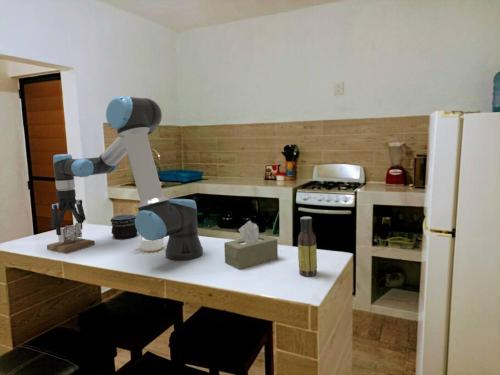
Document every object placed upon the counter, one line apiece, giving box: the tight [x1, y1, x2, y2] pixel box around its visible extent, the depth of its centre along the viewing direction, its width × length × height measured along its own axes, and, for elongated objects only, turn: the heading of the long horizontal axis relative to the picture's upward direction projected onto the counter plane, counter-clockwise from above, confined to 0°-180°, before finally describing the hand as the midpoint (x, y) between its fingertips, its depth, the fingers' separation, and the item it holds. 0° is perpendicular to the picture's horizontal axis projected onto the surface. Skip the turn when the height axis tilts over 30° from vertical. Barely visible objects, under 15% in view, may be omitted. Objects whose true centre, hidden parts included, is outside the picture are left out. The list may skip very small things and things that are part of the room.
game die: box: [63, 223, 83, 243], centre depth 168 cm, size 9×8×10 cm
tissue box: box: [223, 220, 279, 270], centre depth 143 cm, size 19×10×16 cm, turn 125°
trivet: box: [46, 237, 96, 254], centre depth 169 cm, size 14×14×2 cm
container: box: [110, 213, 138, 240], centre depth 185 cm, size 13×13×10 cm
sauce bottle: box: [297, 215, 318, 278], centre depth 128 cm, size 6×6×20 cm
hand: (70, 239), depth 168 cm, fingers open, 8 cm apart
